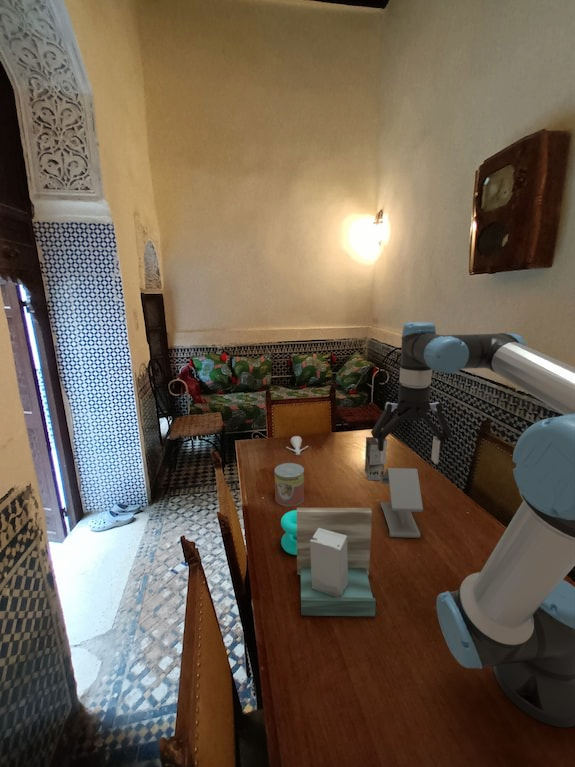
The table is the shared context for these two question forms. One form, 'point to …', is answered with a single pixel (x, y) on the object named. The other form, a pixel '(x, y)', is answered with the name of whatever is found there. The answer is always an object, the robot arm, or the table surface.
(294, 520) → the donuts
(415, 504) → the folded metal stand
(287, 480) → the canned food
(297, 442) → the woman figurine
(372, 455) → the coffee box
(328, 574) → the skincare box
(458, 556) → the table surface
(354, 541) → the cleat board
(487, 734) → the table surface
